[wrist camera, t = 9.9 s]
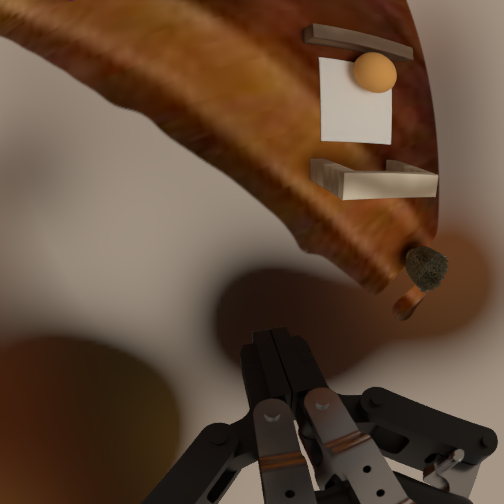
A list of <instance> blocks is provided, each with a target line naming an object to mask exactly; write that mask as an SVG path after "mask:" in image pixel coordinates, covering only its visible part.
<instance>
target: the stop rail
mask: <svg viewBox="0 0 504 504" xmlns="http://www.w3.org/2000/svg"><path fill="white" fill-rule="evenodd" d="M303 37H304V43H309V44H317V45H325V46H331V47H337V48H343V49H348V50H354V51H358V52H363V53H369V52H375V53H379V54H382V55H384V56H386V57H387V58H388V59H391V60H395V61H398V62H400V61H408V60H413V50H412V48H411V47H408V46H405V45H402V44H399V43H396V42H393V41H389V40H386V39H383V38H379V37H376V36H372V35H368V34H364V33H360V32H356V31H352V30H347V29H342V28H337V27H332V26H327V25H320V24H314V23H313V24H311V25H310V26H308V27H307V28H306V29H304V30H303Z"/></svg>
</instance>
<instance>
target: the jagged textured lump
mask: <svg viewBox="0 0 504 504" xmlns="http://www.w3.org/2000/svg"><path fill="white" fill-rule="evenodd" d="M446 258H447V257H445V256H444V255H442V254H440V253H439V252H437V251H435V250H433V249H431V248H428V247H425V246H420V247H409V248H408V249H407V250H406V251H405V253H404V262H405V263H406V270H407V273H408V275H409V276H410V278H411V279H412V280H413V281H414V283H415V284H416V285H417V286H418V288H419V289H420V290H421V292H422V291H423V292H424V293H426V290H428V289H430V290H431V291H434V287H438V286H440V280H441V279H444V276H443V274H445V273H447V268H448V266H447V264H446V263H447V262H448V261H447V260H446ZM442 273H443V274H442Z"/></svg>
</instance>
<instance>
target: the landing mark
mask: <svg viewBox="0 0 504 504" xmlns="http://www.w3.org/2000/svg"><path fill="white" fill-rule="evenodd" d="M353 67H354V62H349V61H343V60H336V59H329V58H322V57H319V74H320V108H321V141H344V142H364V143H378V144H390V145H391V122H392V92H391V89H390V90H388V91H387V92H384V93H372V92H369V91H367V90H365V89H364V88H362V87H361V86H360V85H359V84H358V82H357V81H356V79H355V77H354V72H353Z"/></svg>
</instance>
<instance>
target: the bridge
mask: <svg viewBox="0 0 504 504" xmlns="http://www.w3.org/2000/svg"><path fill="white" fill-rule="evenodd" d="M310 180H311V181H313V182H315V183H316V184H318V185H320V186H321V187H323V188H325V189H326V190H328V191H329V192H331V193H333V194H334V195H336V196H337V197H339V198H341V199H342V200H352V199H373V198H400V197H435V196H436V189H437V182H438V175H436V174H434V173H431V172H428V171H426V170H423V169H420V168H417V167H415V166H412V165H409V164H406V163H403V162H400V161H397V160H387V162H386V171H355V170H352V169H350V168H347V167H345V166H342V165H340V164H337V163H335V162H332V161H329V160H327V159H324V158H316V159H310Z"/></svg>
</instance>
